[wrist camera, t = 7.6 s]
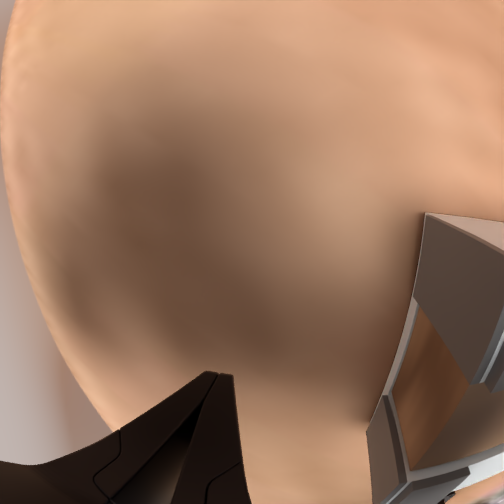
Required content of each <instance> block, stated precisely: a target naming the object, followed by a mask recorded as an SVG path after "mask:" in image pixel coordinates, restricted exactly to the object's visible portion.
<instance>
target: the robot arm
mask: <svg viewBox="0 0 504 504" xmlns="http://www.w3.org/2000/svg"><path fill="white" fill-rule="evenodd" d="M454 495H455V491H453V492H450V493H449V494H448V495H447V496H446V497H445V498H443V499H442V500H441V501H440V502H438V503H437V504H445V502H447V501H448V500H449V499H450V498H452V497H453V496H454ZM0 504H252V503H251V499H250V496H249V493H248V488H247V483H246V477H245V471H244V464H243V457H242V449H241V441H240V433H239V424H238V415H237V406H236V397H235V388H234V378H233V375H231V374H224V373H220V374H219V373H217V372H211V371H205V372H203V373H202V374H200V375H199V376H197V377H196V378H195V379H193V380H192V381H191V382H189V383H188V384H186V385H185V386H183V387H182V388H181V389H179V390H178V391H176V392H175V393H173V394H172V395H170V396H169V397H168V398H166V399H165V400H163V401H162V402H160V403H159V404H157V405H156V406H154V407H153V408H151V409H150V410H148V411H147V412H145V413H144V414H142V415H140V416H139V417H137V418H136V419H134V420H133V421H131V422H129V423H128V424H126V425H125V426H123V427H121V428H120V430H116V431H115V432H113V433H111V434H110V435H108V436H106V437H105V438H103V439H101V440H99V441H97V442H96V443H93V444H91V445H89V446H87V447H85V448H83V449H80V450H78V451H76V452H73V453H71V454H68V455H66V456H63V457H61V458H58V459H55V460H53V461H50V462H47V463H44V464H38V465H21V464H15V463H10V462H4V461H0Z"/></svg>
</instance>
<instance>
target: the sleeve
mask: <svg viewBox="0 0 504 504" xmlns="http://www.w3.org/2000/svg"><path fill="white" fill-rule="evenodd" d="M419 306H420V307H421V309H422V310H423V312H424V313H425V314H426V316H427V317H428V319H429V320H430V322H431V323H432V325H433V326H434V328H435V329H436V331H437V332H438V334H439V335H440V337H441V338H442V340H443V341H444V343H445V344H446V346H447V348H448V349H449V351H450V352H451V354H452V356H453V357H454V359H455V361H456V362H457V364H458V366H459V367H460V369H461V371H462V372H463V374H464V376H465V378H466V379H467V381H468V383H469V385H473V384H478V383H482V382H484V383H485V385H486V386H487V388H488V390H489V391H490V393H495V392H498V391H502V390H504V222H498V221H491V220H484V219H477V218H470V217H462V216H454V215H445V214H436V213H427V212H425V218H424V227H423V235H422V242H421V249H420V256H419V262H418V267H417V273H416V278H415V283H414V288H413V293H412V297H411V302H410V306H409V310H408V314H407V318H406V322H405V325H404V329H403V333H402V336H401V340H400V343H399V346H398V349H397V353H396V356H395V359H394V362H393V365H392V368H391V371H390V373H389V376H388V379H387V382H386V384H385V387H384V390H383V392H382V395H381V397H380V400H379V402H378V405H377V407H376V409H375V412H374V414H373V416H372V419H371V421H370V425H369V427H368V429H367V431H366V436H367V444H368V453H369V462H370V473H371V486H372V502H373V504H437V503H438V502H440V501H441V500H442V499H443V498H445V497H446V496H447V495H448V494H449V493H450V492H453V491H456V490H459V489H461V488H464V487H467V486H469V485H472V484H475V483H477V482H480V481H482V480H484V479H487V478H489V477H491V476H493V475H495V474H498V473H500V472H502V471H504V443H502V444H500V445H498V446H495V447H493V448H490V449H488V450H485V451H482V452H480V453H477V454H474V455H471V456H468V457H465V458H462V459H458V460H455V461H452V462H448V463H444V464H441V465H437V466H433V467H428V468H424V469H419V470H414V471H410V468H409V463H408V458H407V453H406V449H405V444H404V440H403V435H402V431H401V427H400V423H399V419H398V415H397V411H396V407H395V403H394V400H393V396H392V392H391V391H392V389H393V386H394V384H395V381H396V378H397V376H398V373H399V370H400V368H401V365H402V362H403V359H404V356H405V353H406V350H407V347H408V344H409V341H410V338H411V335H412V331H413V328H414V324H415V321H416V317H417V313H418V309H419Z"/></svg>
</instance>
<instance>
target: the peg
mask: <svg viewBox="0 0 504 504" xmlns="http://www.w3.org/2000/svg"><path fill="white" fill-rule="evenodd" d="M391 392H392V396H393V400H394V403H395V407H396V411H397V415H398V419H399V423H400V427H401V431H402V435H403V440H404V444H405V449H406V453H407V458H408V463H409V468H410V471H414V470H419V469H424V468H428V467H433V466H437V465H441V464H444V463H448V462H452V461H455V460H458V459H462V458H465V457H468V456H471V455H474V454H477V453H480V452H482V451H485V450H488V449H490V448H493V447H495V446H498V445H500V444H502V443H504V390H502V391H498V392H495V393H490V391H489V390H488V388H487V386H486V385H485V383H484V382H482V383H478V384H473V385H469V383H468V381H467V379H466V378H465V376H464V374H463V372H462V371H461V369H460V367H459V366H458V364H457V362H456V361H455V359H454V357H453V356H452V354H451V352H450V351H449V349H448V348H447V346H446V344H445V343H444V341H443V340H442V338H441V337H440V335H439V334H438V332H437V331H436V329H435V328H434V326H433V325H432V323H431V322H430V320H429V319H428V317H427V316H426V314H425V313H424V312H423V310H422V309H421V307H420V306H419V309H418V313H417V317H416V321H415V324H414V328H413V331H412V335H411V338H410V341H409V344H408V347H407V350H406V353H405V356H404V359H403V362H402V365H401V368H400V370H399V373H398V376H397V378H396V381H395V384H394V386H393V389H392V391H391Z"/></svg>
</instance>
